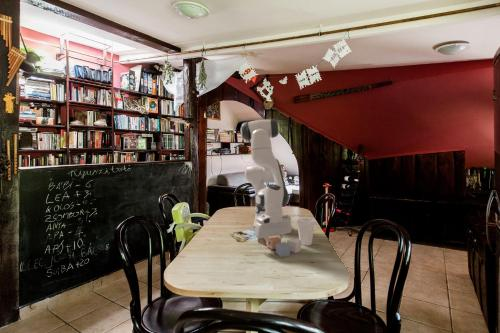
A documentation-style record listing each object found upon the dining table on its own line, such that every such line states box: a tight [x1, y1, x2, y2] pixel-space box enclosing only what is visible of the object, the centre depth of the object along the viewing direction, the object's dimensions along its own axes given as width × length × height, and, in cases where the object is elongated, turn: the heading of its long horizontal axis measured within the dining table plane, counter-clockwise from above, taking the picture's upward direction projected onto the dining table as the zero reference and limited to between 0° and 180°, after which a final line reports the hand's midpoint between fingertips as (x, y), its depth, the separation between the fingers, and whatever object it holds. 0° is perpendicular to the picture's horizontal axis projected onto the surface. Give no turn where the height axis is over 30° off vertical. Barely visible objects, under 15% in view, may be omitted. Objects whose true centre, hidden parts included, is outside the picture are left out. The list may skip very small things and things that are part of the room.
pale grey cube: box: [286, 237, 302, 254], centre depth 145 cm, size 5×5×5 cm
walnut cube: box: [257, 238, 267, 246], centre depth 156 cm, size 5×5×5 cm
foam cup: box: [296, 216, 316, 246], centre depth 154 cm, size 10×9×13 cm
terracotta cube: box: [266, 235, 282, 250], centre depth 148 cm, size 5×5×5 cm
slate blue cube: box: [275, 241, 291, 258], centre depth 140 cm, size 5×5×5 cm
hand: (273, 243), depth 148 cm, fingers closed on terracotta cube, 5 cm apart
